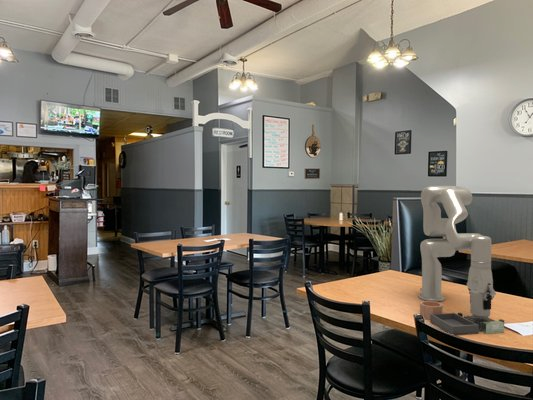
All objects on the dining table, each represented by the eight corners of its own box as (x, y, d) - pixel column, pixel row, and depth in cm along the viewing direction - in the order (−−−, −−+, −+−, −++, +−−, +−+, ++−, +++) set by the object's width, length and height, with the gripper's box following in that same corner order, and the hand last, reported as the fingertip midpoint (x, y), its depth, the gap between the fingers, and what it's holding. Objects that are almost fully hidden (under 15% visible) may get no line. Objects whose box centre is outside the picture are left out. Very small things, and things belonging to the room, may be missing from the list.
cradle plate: (463, 320, 171) (463, 315, 171) (482, 319, 173) (482, 314, 173) (478, 327, 162) (478, 322, 162) (497, 326, 164) (497, 321, 164)
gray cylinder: (483, 312, 171) (484, 285, 171) (494, 318, 164) (494, 289, 164) (466, 312, 171) (467, 285, 171) (476, 318, 164) (476, 290, 163)
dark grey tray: (430, 322, 172) (430, 314, 172) (454, 320, 174) (454, 312, 174) (452, 335, 157) (452, 326, 157) (478, 333, 159) (478, 324, 159)
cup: (416, 314, 183) (416, 301, 183) (434, 313, 184) (434, 300, 184) (427, 320, 174) (427, 307, 174) (446, 319, 176) (446, 306, 175)
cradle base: (457, 321, 173) (457, 312, 173) (483, 320, 175) (483, 311, 175) (481, 334, 158) (481, 324, 158) (509, 332, 160) (509, 322, 160)
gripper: (459, 261, 175) (459, 301, 175) (487, 269, 158) (486, 313, 158) (474, 261, 176) (474, 300, 177) (504, 269, 159) (503, 312, 159)
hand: (480, 306), depth 167 cm, fingers closed on gray cylinder, 7 cm apart
